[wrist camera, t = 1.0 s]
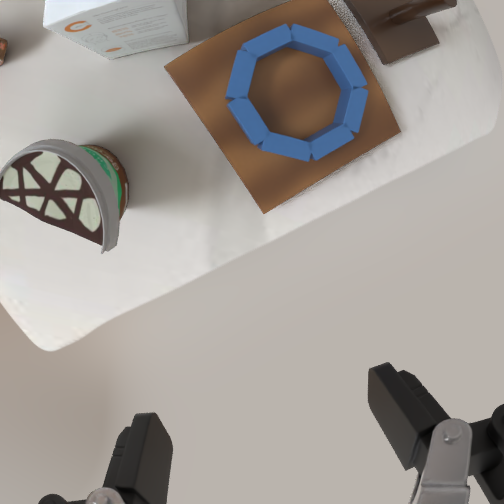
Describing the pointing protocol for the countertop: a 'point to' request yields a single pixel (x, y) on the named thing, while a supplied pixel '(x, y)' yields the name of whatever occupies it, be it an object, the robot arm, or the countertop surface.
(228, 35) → the platform
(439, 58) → the countertop surface
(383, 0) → the ring stand
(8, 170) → the food container
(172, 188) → the countertop surface
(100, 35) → the small box
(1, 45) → the mottled orange brown slab
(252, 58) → the ring
